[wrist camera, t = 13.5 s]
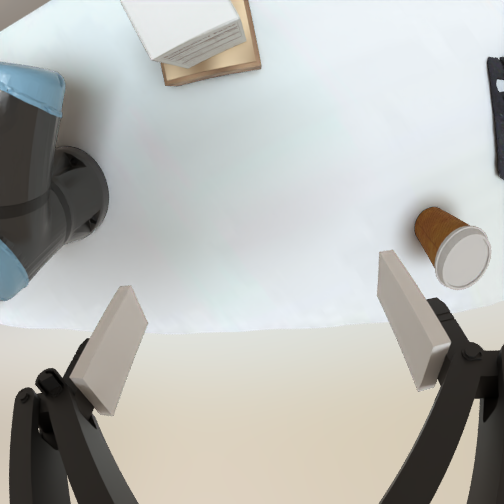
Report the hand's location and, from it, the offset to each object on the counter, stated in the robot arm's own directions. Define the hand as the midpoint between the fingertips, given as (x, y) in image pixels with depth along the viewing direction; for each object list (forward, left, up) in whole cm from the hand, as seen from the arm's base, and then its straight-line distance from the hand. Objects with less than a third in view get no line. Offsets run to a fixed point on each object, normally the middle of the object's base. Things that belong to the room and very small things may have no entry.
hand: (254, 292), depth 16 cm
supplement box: (-3, +18, -23) cm, 29 cm away
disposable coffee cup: (+26, -13, -29) cm, 41 cm away
